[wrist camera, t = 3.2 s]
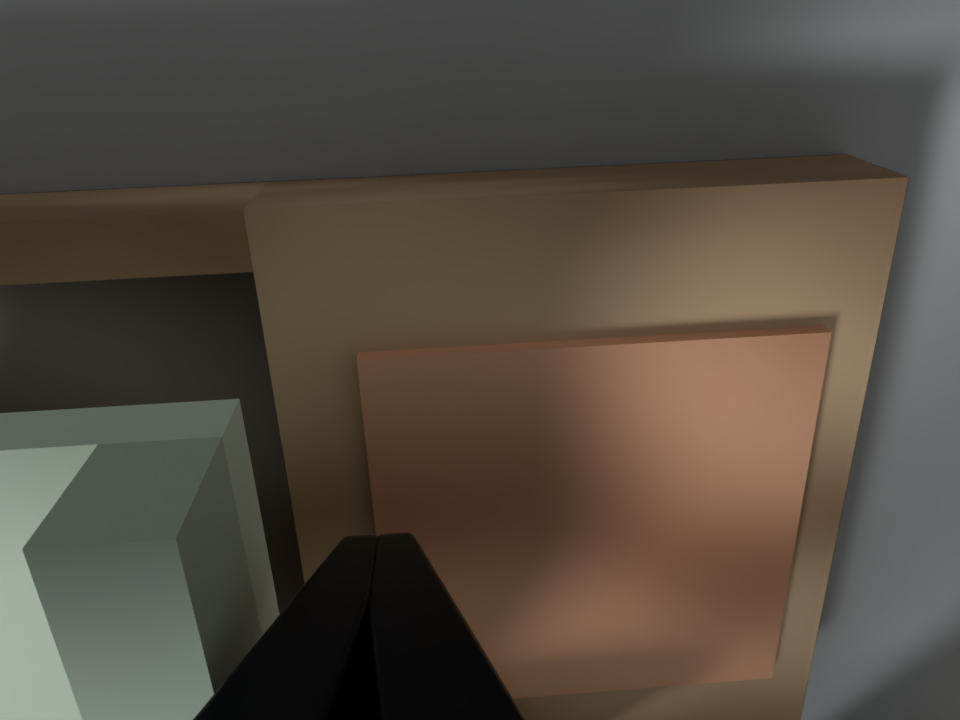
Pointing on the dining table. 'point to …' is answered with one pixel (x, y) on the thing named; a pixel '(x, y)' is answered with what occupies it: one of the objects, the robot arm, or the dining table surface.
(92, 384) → the puzzle board
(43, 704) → the sage cover
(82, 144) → the dining table surface
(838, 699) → the dining table surface
